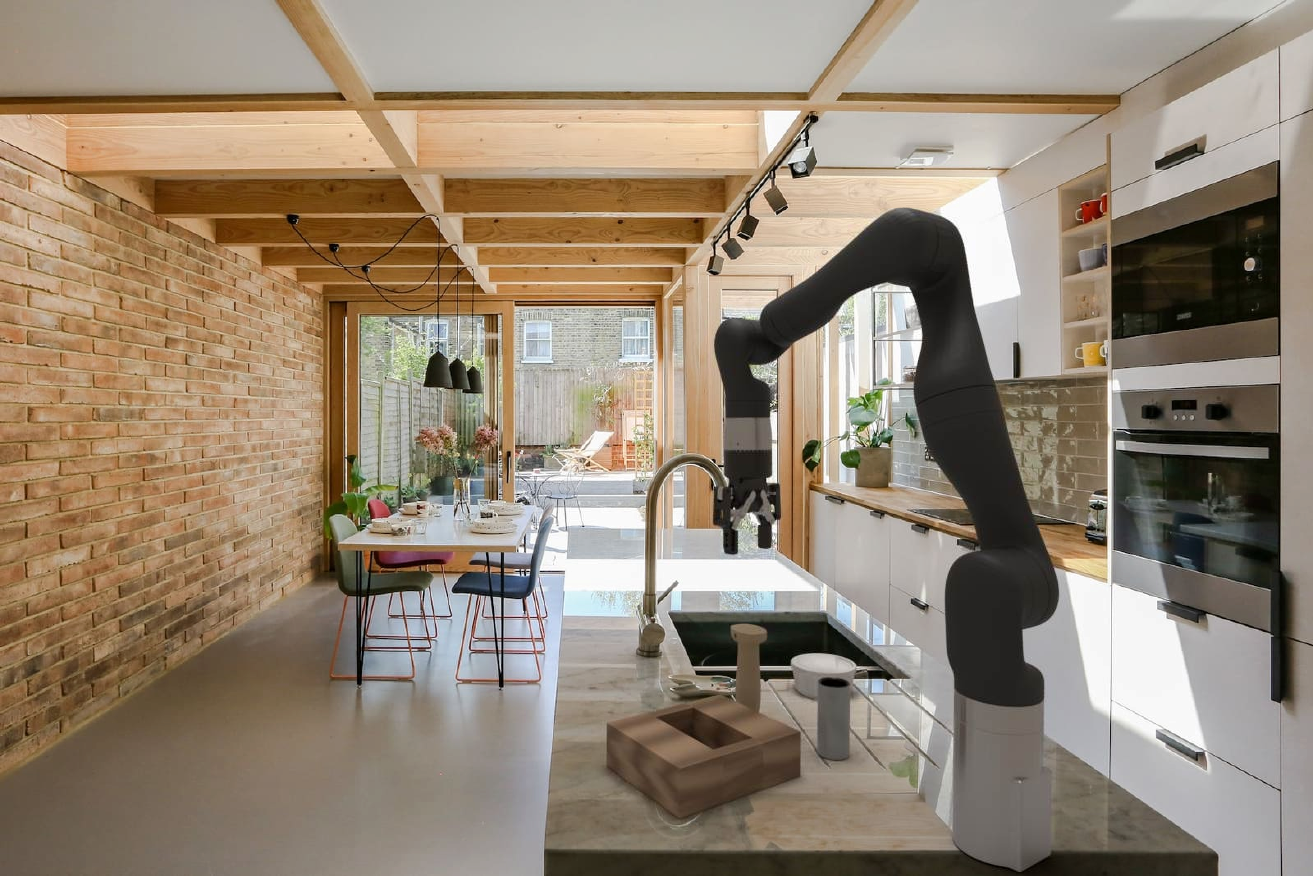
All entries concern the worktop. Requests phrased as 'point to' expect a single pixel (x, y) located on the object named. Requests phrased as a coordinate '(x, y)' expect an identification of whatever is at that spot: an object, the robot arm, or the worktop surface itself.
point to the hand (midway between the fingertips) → (748, 551)
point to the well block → (702, 753)
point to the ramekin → (820, 671)
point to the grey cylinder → (833, 718)
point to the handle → (748, 664)
